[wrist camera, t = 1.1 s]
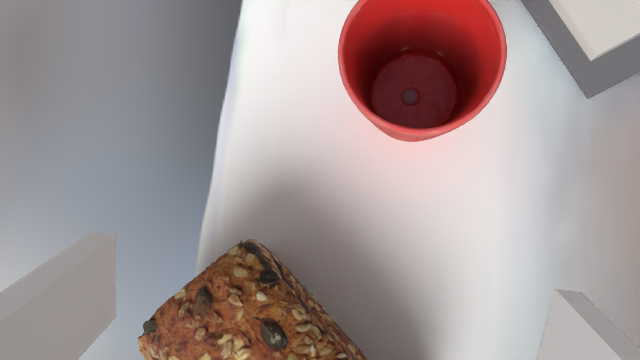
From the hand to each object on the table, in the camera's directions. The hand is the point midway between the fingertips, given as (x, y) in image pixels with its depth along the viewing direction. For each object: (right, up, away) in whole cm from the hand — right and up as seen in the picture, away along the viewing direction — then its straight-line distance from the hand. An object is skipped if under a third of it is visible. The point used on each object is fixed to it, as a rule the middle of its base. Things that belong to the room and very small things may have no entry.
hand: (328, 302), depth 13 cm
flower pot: (+8, +11, +25) cm, 28 cm away
